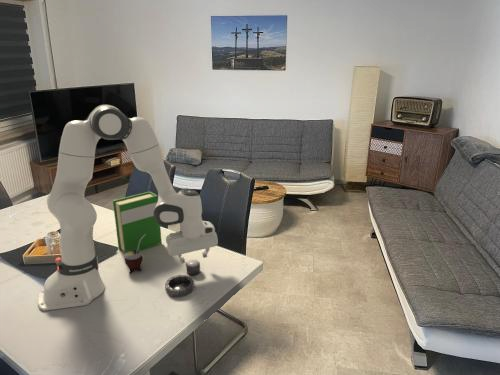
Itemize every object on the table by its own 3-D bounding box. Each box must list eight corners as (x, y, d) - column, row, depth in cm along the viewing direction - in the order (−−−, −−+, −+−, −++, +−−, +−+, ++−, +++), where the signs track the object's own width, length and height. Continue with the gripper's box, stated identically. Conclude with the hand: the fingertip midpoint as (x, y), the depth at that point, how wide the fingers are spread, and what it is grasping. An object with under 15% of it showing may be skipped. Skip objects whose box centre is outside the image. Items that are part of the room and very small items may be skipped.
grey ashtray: (169, 299, 137) (169, 293, 137) (163, 284, 146) (162, 278, 145) (197, 292, 142) (196, 286, 141) (189, 278, 150) (189, 272, 150)
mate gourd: (122, 271, 155) (118, 239, 150) (134, 262, 162) (131, 230, 156) (137, 275, 152) (133, 242, 147) (149, 266, 159) (146, 234, 154)
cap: (188, 277, 151) (188, 267, 150) (185, 270, 156) (184, 260, 155) (201, 274, 154) (201, 264, 152) (197, 267, 158) (197, 258, 157)
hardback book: (125, 255, 167) (119, 205, 159) (118, 249, 172) (112, 200, 164) (161, 243, 178) (157, 195, 170) (154, 237, 183) (149, 191, 175)
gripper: (167, 238, 142) (170, 269, 147) (218, 227, 150) (219, 257, 155) (163, 231, 147) (166, 262, 152) (213, 221, 156) (214, 250, 160)
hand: (193, 259), depth 154 cm, fingers open, 8 cm apart
